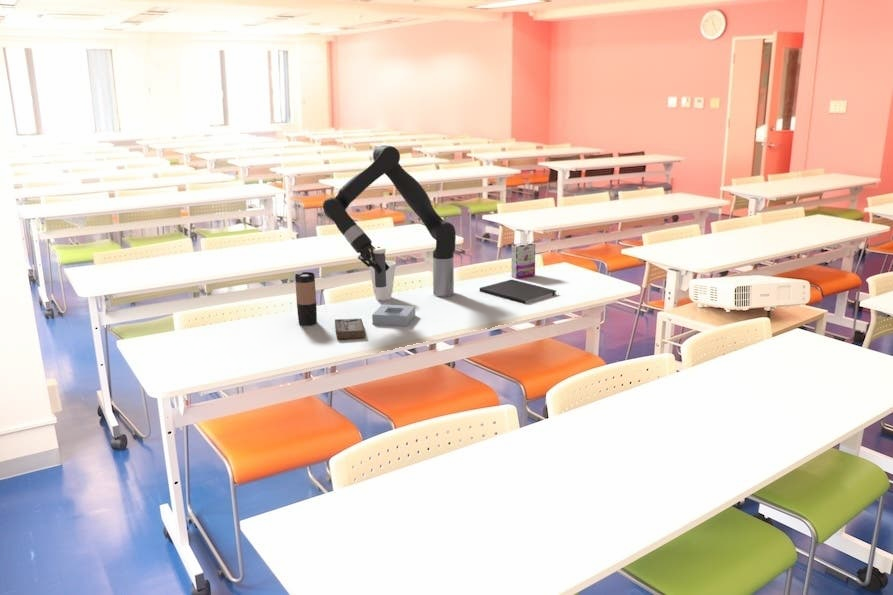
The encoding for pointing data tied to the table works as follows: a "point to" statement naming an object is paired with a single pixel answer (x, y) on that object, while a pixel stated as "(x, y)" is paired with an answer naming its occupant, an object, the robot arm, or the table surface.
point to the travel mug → (306, 298)
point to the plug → (380, 260)
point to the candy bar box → (523, 260)
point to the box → (349, 328)
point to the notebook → (518, 291)
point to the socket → (393, 315)
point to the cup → (386, 292)
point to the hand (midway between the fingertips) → (384, 270)
